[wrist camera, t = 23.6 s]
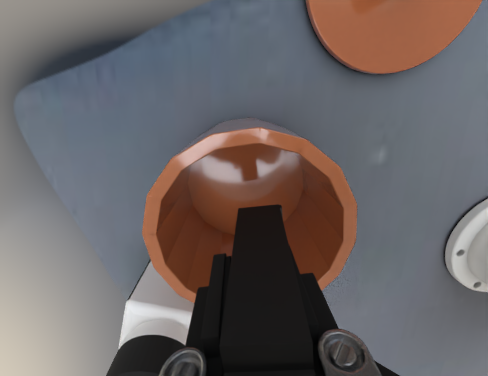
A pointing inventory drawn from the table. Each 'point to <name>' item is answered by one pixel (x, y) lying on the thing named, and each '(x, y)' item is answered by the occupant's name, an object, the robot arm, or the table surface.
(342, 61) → the lid
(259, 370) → the ink cartridge
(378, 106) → the table surface
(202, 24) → the table surface
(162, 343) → the medicine bottle
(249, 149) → the terracotta pot
